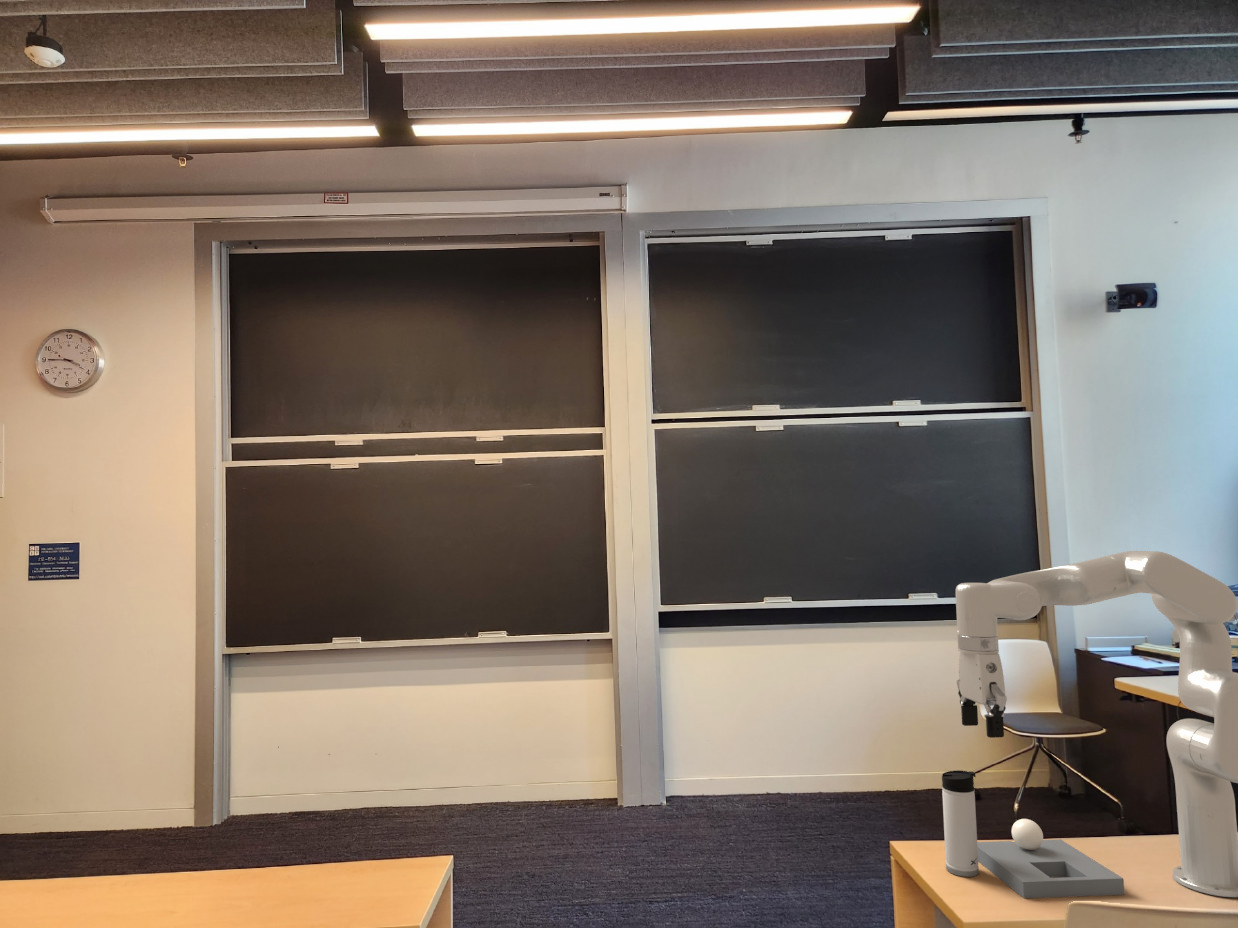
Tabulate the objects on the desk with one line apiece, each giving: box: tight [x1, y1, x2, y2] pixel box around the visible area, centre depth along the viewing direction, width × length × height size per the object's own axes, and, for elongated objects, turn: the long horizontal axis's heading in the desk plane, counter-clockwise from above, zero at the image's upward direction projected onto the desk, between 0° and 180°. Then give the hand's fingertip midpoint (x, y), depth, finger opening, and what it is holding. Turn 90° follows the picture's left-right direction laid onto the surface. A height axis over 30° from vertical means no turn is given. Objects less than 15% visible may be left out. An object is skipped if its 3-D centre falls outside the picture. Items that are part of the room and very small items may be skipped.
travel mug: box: [941, 769, 980, 878], centre depth 166 cm, size 6×7×20 cm
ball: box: [1011, 818, 1044, 850], centre depth 169 cm, size 6×6×6 cm
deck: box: [977, 838, 1125, 899], centre depth 163 cm, size 20×20×3 cm
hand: (982, 730), depth 159 cm, fingers open, 9 cm apart
